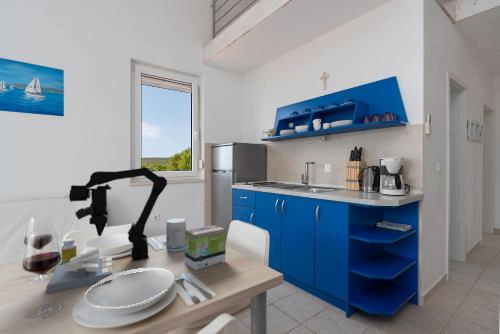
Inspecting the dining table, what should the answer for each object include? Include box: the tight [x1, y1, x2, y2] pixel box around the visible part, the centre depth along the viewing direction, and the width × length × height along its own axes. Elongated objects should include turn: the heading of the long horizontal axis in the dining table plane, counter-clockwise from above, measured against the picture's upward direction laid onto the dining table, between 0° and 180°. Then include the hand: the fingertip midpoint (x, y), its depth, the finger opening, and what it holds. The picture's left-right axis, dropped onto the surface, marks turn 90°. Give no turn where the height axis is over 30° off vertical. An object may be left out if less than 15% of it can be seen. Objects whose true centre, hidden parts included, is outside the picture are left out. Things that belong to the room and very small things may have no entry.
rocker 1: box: [70, 248, 101, 262], centre depth 100 cm, size 10×4×2 cm, turn 120°
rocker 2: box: [69, 253, 100, 263], centre depth 95 cm, size 10×4×2 cm, turn 120°
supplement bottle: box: [60, 238, 78, 265], centre depth 109 cm, size 5×5×10 cm
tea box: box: [184, 224, 227, 271], centre depth 107 cm, size 15×10×15 cm, turn 131°
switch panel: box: [46, 256, 113, 294], centre depth 95 cm, size 19×19×6 cm
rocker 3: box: [64, 263, 99, 272], centre depth 90 cm, size 10×4×2 cm, turn 120°
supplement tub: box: [165, 217, 187, 253], centre depth 124 cm, size 10×10×15 cm
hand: (99, 235), depth 107 cm, fingers closed
